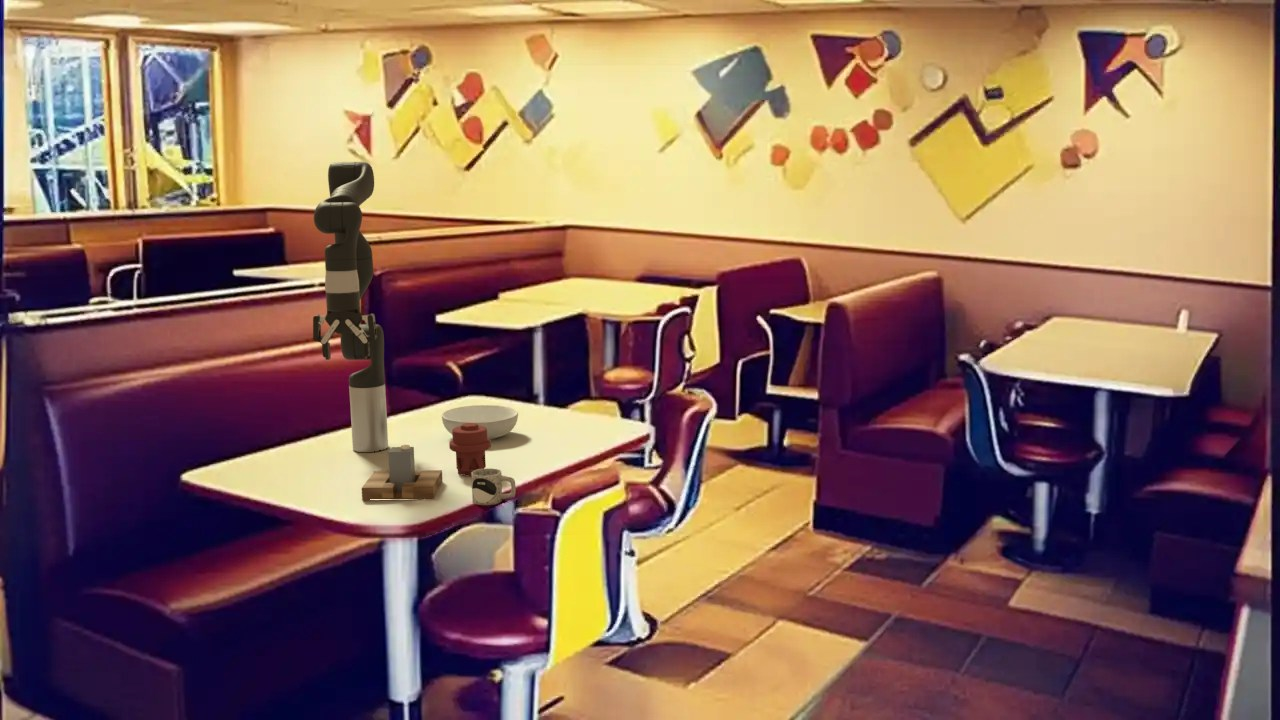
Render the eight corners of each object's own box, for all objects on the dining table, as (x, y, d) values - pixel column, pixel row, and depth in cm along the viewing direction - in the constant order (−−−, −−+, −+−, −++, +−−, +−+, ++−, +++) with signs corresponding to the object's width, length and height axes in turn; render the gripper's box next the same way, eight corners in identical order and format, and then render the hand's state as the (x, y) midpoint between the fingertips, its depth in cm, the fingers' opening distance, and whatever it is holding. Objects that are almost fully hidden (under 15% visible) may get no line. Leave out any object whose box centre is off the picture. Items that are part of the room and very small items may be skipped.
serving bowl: (441, 448, 311) (440, 422, 310) (444, 430, 332) (442, 406, 330) (519, 444, 314) (519, 419, 313) (517, 426, 334) (517, 403, 333)
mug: (468, 504, 260) (467, 475, 259) (477, 496, 267) (476, 467, 266) (511, 506, 259) (510, 477, 258) (520, 497, 265) (519, 469, 264)
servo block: (394, 486, 273) (391, 443, 272) (415, 486, 273) (413, 443, 272) (390, 492, 269) (387, 448, 267) (412, 491, 269) (409, 448, 267)
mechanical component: (442, 475, 285) (472, 466, 292) (470, 481, 278) (500, 472, 286) (439, 425, 282) (470, 418, 290) (468, 431, 276) (498, 423, 284)
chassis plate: (374, 483, 278) (374, 471, 277) (442, 482, 278) (441, 470, 278) (362, 500, 264) (361, 487, 264) (433, 499, 265) (432, 486, 264)
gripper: (376, 287, 274) (380, 355, 276) (315, 288, 273) (319, 356, 276) (370, 291, 266) (373, 361, 269) (307, 292, 266) (311, 362, 269)
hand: (346, 359), depth 273 cm, fingers open, 8 cm apart
